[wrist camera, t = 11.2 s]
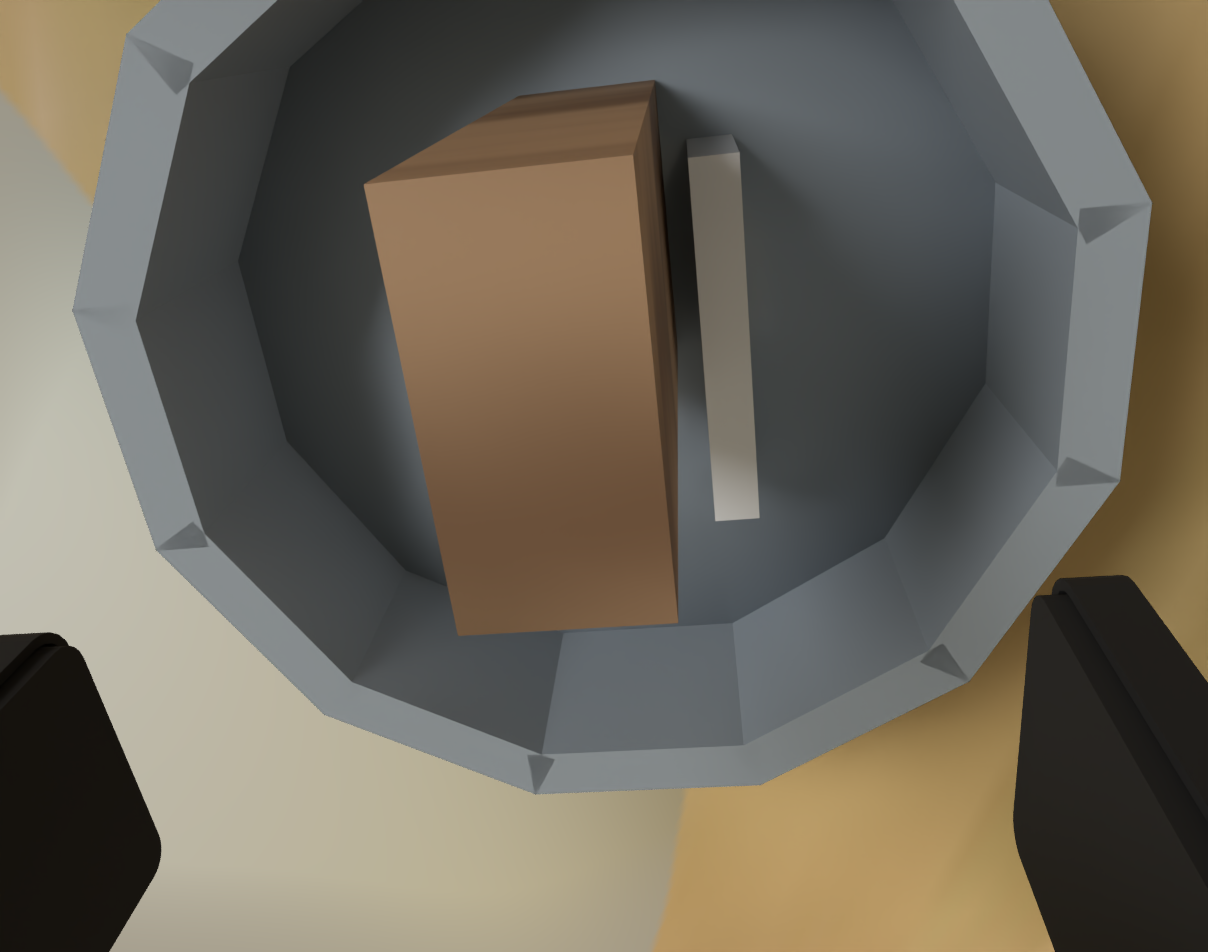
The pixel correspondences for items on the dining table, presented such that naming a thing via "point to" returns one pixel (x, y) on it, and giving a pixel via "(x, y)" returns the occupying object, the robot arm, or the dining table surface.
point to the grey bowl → (705, 357)
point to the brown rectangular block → (542, 358)
